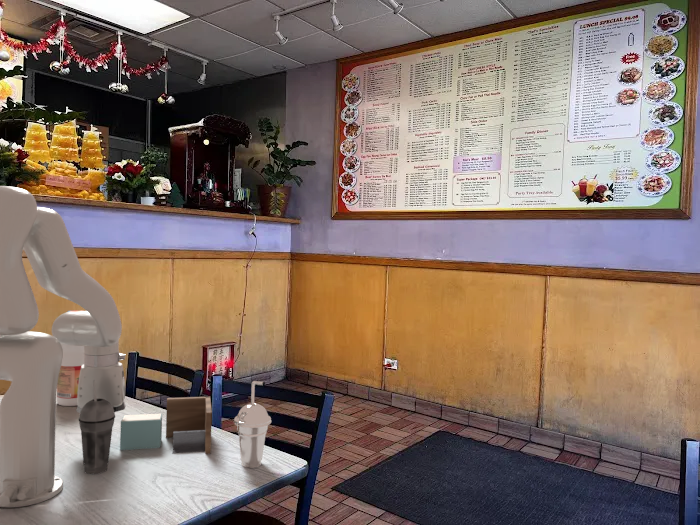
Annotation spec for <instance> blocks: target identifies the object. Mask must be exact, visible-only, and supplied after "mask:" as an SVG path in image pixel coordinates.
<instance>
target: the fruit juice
mask: <svg viewBox="0 0 700 525" xmlns="http://www.w3.org/2000/svg"><path fill="white" fill-rule="evenodd" d="M76 311H83V310H79V309H78V310H74V309H73V310H67V312H76ZM61 345H62V349H63V358H62V363H61V368H60V372H59V376H58V382H57V391H56V404H57V405H58V406H63V407H74V406H75V407H76V406H77V407H78V404H77V395H78V383H79V375H80V370H81V366H82V365H84V346H75V345H65V344H62V343H61Z"/></svg>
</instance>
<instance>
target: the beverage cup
mask: <svg viewBox="0 0 700 525" xmlns="http://www.w3.org/2000/svg"><path fill="white" fill-rule="evenodd" d="M93 392H94V399H93V400H91V401H89V402H87V403H86V404H85V405H84V406H83V408H82V409H81V412H80V413H79V417H78V422H79V428H80V433H81V434H80V436H81V446H82V447H81V448H82V461H83V462H82V463H83V468H84V473H85V474H86V475H97V474H98V475H99V474H102V473H105V472H106V471H107V470H108V466H109V460H110V452H111V445H112V444H111V442H112V436H113V435H112V432H113V427H114V424H115V423H114V422H115V418H116V414H115V413H116V412H114V409H113V406H112V405H111V403H110V402H108V401H107V400H105V399H100V398H98V399H97V397H96V382H95V380H93Z"/></svg>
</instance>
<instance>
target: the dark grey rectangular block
mask: <svg viewBox="0 0 700 525" xmlns="http://www.w3.org/2000/svg"><path fill="white" fill-rule="evenodd" d="M200 452H202V453H203V452H204V453H205V430H194V431H176V432H173V438H172V455H173V454H186V453H200Z"/></svg>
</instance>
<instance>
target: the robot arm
mask: <svg viewBox="0 0 700 525" xmlns="http://www.w3.org/2000/svg"><path fill="white" fill-rule="evenodd" d="M23 252H24V254H25V256H26V257H27V260H28V262H29V264H30V266H31V269H32V271H33V273H34V276H35V278H36V281H37V283H38V284H39V285H40V287H41V288H42V289H44V290H46V291H47V292H49V293H52V294H54V295H56V296H58V297H59V298H63V299H65V300H68V301H70V302H73V303H74V304H76V305H78V306H79V307H80V308H82V309H84V310H82V311H76V312H64V313H62V314H59V316H57V317H56V318H55V319H54V321H53V322H52V326H51V334H49V333H46V332H40V331H32V330H33V329H34V328H35V327H36V325H37V323H38V321H39V318H40V314H39V307H38V304H37V300H36V297H35V294H34V292H33V288H32V286H31V284H30V280H29V278H28V275H27V272H26V269H25V266H24V262H23ZM78 258H79V257H78V255H77V253H76V250H75V248H74V245H73V243H72V240H71V237H70V234H69V231H68V229H67V226H66V224H65V222H64V219H63V217H62V215H61V214H59V213H58V212H57V211H56V210H53V209H52V208H51V209H50V208H48V207H41V206H38V204H37V200H36V198H35V196H34V195H33V194H32V193H31V192H29V191H28V190H26V189H23V188H20V187H15V186H10V185H9V186H7V185H0V380H2V381H3V380H4V381H8V382H11V383H10V386H9V387H8V389H7V390H6V392H5V393H4V394H3V397H2V398H1V401H0V508H20V507H21V508H22V507H27V506H33V505H36V504H40V503H42V502H45V501H47V500H51V499H52V498H53V497H55V496H57V495H58V494H60V492H61V491H62V490H63V489H64V480H63V479H62V478H61V477H60V476H57V475H55V473H56V472H55V468H56V467H55V465H56V464H55V462H56V422H57V421H56V419H57V418H56V416H57V415H56V413H57V411H56V410H57V409H56V408H57V382H58V376H59V372H60V368H61V363H62V358H63V349H62V345H61V343H62V344H65V345H75V346H84V365H82V366H81V370H80V375H79V383H78V395H77V404H78V405H77V408H76V412H77V413H79V414H80V412H81V409H82V408H83V406H84V405H85V404H86V403H87V402H89V401H91V400H93V399H94V392H93V380H95V382H96V397H97V399H98V398H100V399H105V400H107V401H108V402H110V403H111V405H112V406H113V409H114V412H115V413H116V412H120V411H124V410H126V406H127V405H126V401H125V399H126V386H125V384H126V381H125V373H124V365H123V363H122V362H120V361H123V360H125V359H126V353H121V352H120V350H119V348H120V347H119V346H120V344H119V340H120V338H121V335H122V331H123V330H122V328H123V326H122V320H121V316H120V314H119V310H118V307H117V305H116V302H115V300H114V298H113V296H112V295H111V294H110V292H109V291H108V290H107V289H106V288H105V287H104V286H103V285H101V283H99V281H97V280H96V279H95V278H93V277H92V276H91V275H89V274H88V273H87V272H86V271H85V270H84V269H83V268H82V267H81V264H80V260H79V259H78Z"/></svg>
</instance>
